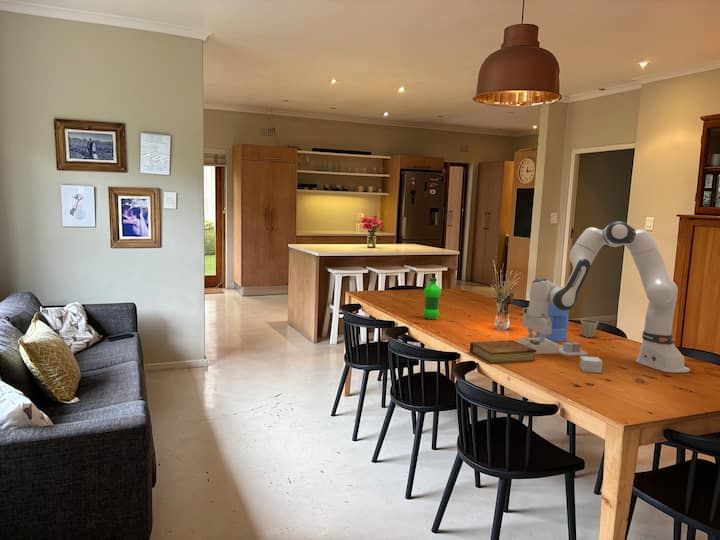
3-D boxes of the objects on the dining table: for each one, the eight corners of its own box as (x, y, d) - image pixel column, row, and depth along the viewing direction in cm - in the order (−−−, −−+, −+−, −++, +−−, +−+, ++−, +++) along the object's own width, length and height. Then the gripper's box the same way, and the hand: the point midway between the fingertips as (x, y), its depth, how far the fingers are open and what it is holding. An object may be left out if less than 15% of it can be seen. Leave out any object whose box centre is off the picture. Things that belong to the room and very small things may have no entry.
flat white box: (559, 354, 251) (560, 345, 251) (532, 354, 248) (533, 345, 248) (543, 346, 265) (544, 337, 264) (518, 346, 262) (518, 337, 261)
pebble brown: (579, 352, 255) (580, 344, 254) (573, 352, 254) (574, 344, 254) (575, 350, 258) (575, 342, 258) (569, 350, 258) (570, 342, 257)
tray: (588, 356, 250) (588, 353, 250) (564, 356, 247) (564, 353, 247) (571, 348, 264) (571, 345, 263) (547, 348, 261) (547, 346, 261)
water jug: (539, 334, 292) (543, 284, 288) (569, 338, 284) (573, 287, 280) (532, 339, 278) (537, 287, 275) (563, 344, 270) (568, 291, 267)
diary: (511, 351, 255) (512, 339, 255) (535, 362, 238) (536, 350, 237) (469, 353, 248) (470, 341, 247) (490, 364, 230) (491, 352, 230)
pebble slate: (572, 352, 254) (573, 344, 254) (566, 352, 253) (567, 344, 253) (568, 350, 258) (569, 342, 257) (562, 350, 257) (563, 342, 256)
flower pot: (599, 339, 286) (600, 323, 285) (580, 337, 288) (582, 322, 287) (595, 335, 295) (596, 320, 294) (577, 333, 297) (578, 318, 296)
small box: (578, 366, 233) (579, 355, 232) (597, 368, 231) (598, 357, 231) (582, 371, 225) (583, 360, 225) (601, 373, 224) (603, 362, 223)
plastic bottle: (440, 320, 315) (443, 279, 312) (422, 320, 315) (425, 279, 312) (438, 317, 325) (440, 277, 322) (421, 316, 325) (423, 276, 322)
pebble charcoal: (539, 349, 255) (539, 341, 254) (533, 349, 254) (533, 341, 253) (535, 347, 258) (535, 339, 258) (529, 347, 257) (529, 340, 257)
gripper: (556, 316, 244) (554, 345, 246) (532, 308, 264) (530, 335, 265) (543, 316, 243) (541, 345, 244) (521, 308, 263) (519, 335, 264)
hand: (536, 340), depth 255 cm, fingers open, 8 cm apart
